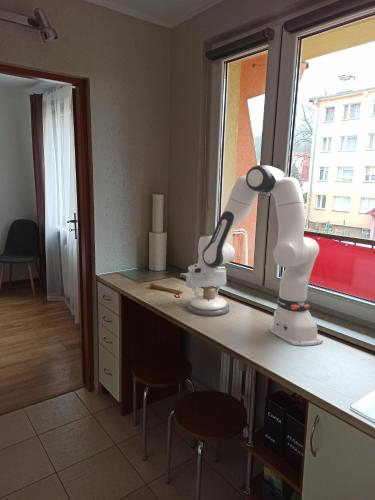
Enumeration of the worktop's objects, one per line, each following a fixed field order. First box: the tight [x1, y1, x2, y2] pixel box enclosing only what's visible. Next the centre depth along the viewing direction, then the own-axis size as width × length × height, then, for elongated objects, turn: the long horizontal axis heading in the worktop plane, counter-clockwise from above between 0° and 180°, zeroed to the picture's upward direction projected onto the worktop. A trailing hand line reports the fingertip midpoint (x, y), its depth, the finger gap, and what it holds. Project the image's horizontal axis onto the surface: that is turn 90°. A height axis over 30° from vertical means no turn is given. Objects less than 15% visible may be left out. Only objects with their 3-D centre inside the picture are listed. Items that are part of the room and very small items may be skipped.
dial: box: [190, 286, 227, 311], centre depth 176 cm, size 17×17×6 cm
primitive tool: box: [149, 282, 184, 296], centre depth 202 cm, size 19×6×4 cm, turn 70°
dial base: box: [187, 300, 230, 317], centre depth 177 cm, size 20×20×2 cm
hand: (206, 294), depth 181 cm, fingers open, 8 cm apart
